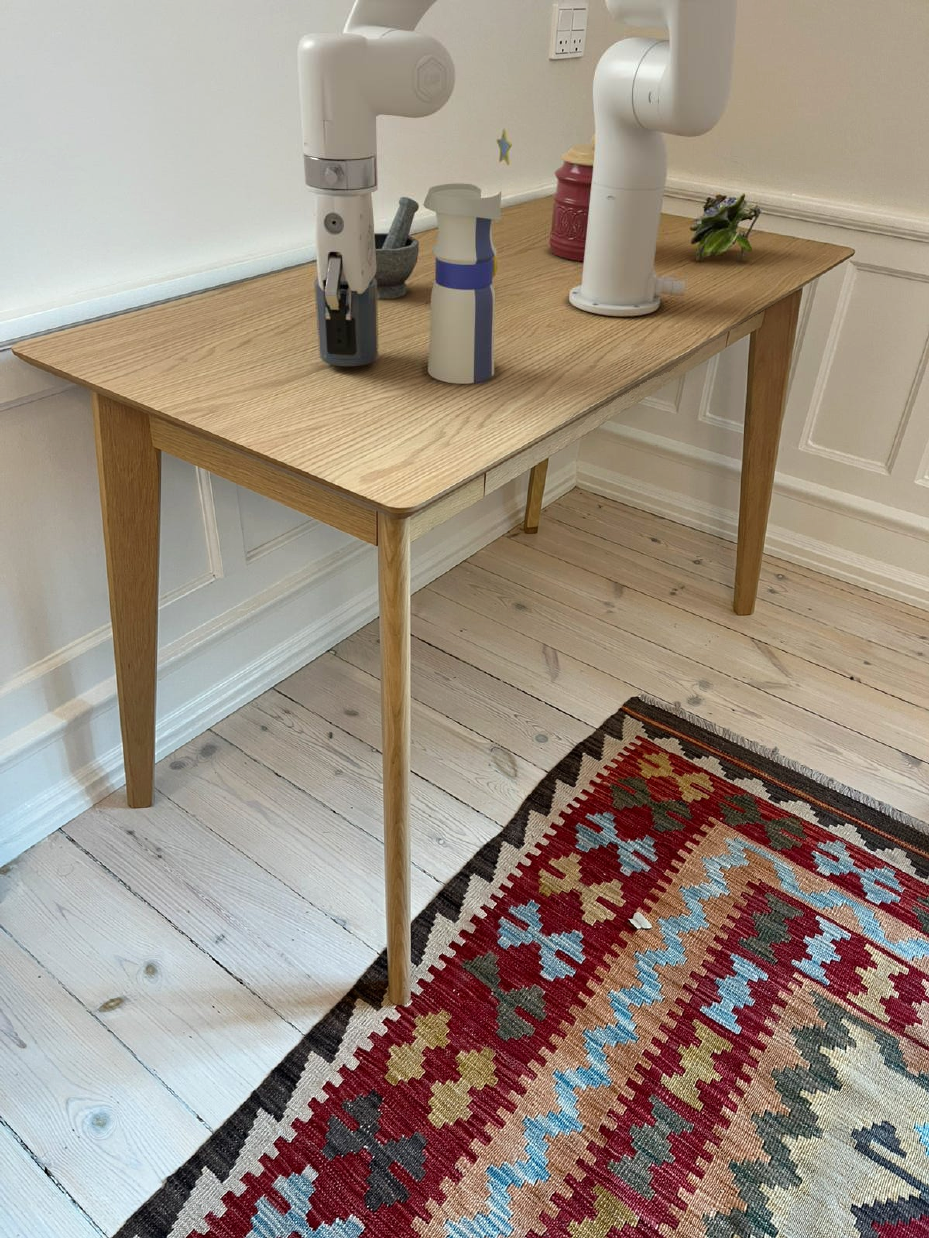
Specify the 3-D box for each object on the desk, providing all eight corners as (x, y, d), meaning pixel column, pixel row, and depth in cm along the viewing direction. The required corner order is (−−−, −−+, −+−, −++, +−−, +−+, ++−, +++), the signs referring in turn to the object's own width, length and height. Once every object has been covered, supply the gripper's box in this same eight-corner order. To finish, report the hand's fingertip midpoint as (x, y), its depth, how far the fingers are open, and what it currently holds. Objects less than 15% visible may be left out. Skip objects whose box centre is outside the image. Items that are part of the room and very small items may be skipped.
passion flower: (700, 283, 158) (724, 216, 158) (757, 286, 151) (783, 215, 150) (668, 252, 150) (693, 180, 149) (727, 253, 143) (754, 177, 142)
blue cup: (382, 347, 110) (380, 274, 105) (373, 368, 105) (370, 291, 100) (326, 344, 111) (321, 271, 106) (313, 364, 105) (308, 288, 100)
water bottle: (460, 352, 112) (466, 120, 98) (511, 372, 107) (525, 131, 93) (409, 368, 108) (407, 127, 93) (460, 389, 103) (467, 138, 88)
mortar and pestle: (380, 307, 126) (378, 212, 119) (335, 291, 131) (331, 200, 124) (439, 291, 133) (440, 201, 126) (394, 277, 138) (392, 189, 131)
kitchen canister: (632, 265, 147) (648, 141, 136) (550, 262, 147) (560, 138, 136) (622, 244, 157) (637, 127, 147) (546, 241, 157) (555, 125, 147)
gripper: (362, 192, 89) (367, 371, 99) (389, 160, 103) (392, 320, 114) (285, 188, 89) (299, 367, 100) (323, 157, 104) (331, 317, 114)
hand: (348, 341), depth 107 cm, fingers closed on blue cup, 6 cm apart
